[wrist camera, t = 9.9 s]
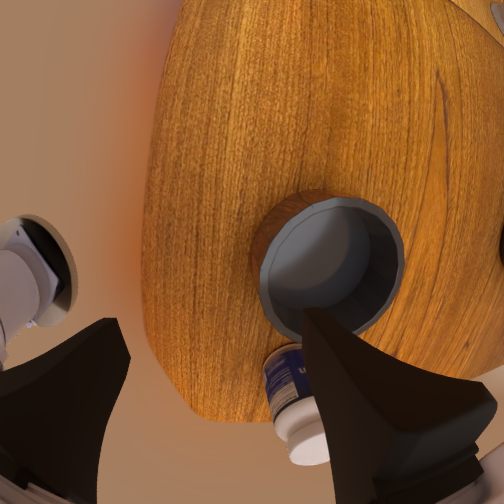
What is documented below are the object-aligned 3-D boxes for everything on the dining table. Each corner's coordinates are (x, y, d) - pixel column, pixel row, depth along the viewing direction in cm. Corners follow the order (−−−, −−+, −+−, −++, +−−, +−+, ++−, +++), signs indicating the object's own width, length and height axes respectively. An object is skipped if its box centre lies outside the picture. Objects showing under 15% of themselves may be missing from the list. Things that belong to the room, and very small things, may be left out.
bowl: (294, 335, 23) (308, 368, 19) (222, 242, 20) (223, 264, 15) (389, 267, 22) (419, 288, 18) (337, 163, 19) (368, 164, 15)
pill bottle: (332, 352, 24) (376, 431, 15) (296, 391, 25) (323, 471, 16) (285, 331, 23) (322, 422, 13) (248, 375, 24) (265, 465, 14)
